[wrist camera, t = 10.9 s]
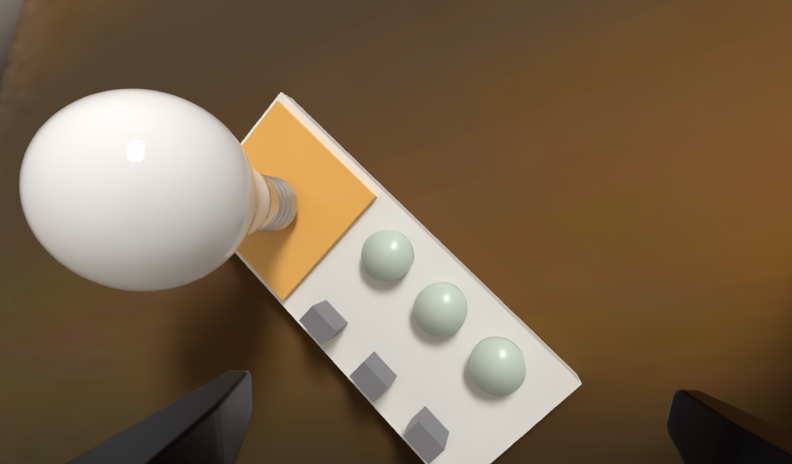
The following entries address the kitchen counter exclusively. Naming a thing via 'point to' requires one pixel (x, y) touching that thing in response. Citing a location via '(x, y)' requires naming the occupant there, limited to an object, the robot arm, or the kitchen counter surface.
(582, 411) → the kitchen counter surface
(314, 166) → the control panel
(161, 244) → the lightbulb
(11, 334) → the kitchen counter surface
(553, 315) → the kitchen counter surface
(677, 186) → the kitchen counter surface
